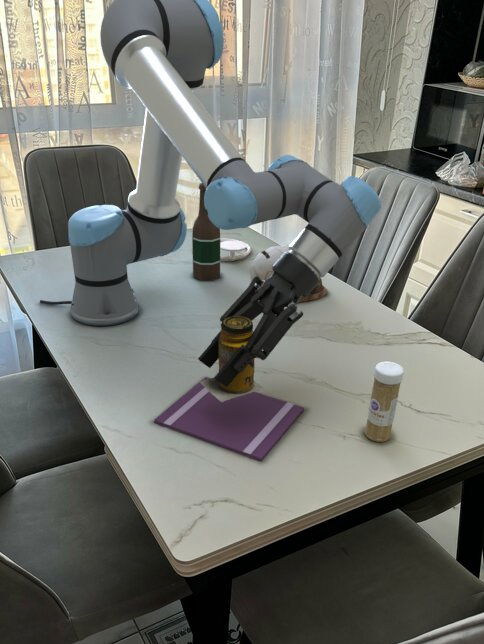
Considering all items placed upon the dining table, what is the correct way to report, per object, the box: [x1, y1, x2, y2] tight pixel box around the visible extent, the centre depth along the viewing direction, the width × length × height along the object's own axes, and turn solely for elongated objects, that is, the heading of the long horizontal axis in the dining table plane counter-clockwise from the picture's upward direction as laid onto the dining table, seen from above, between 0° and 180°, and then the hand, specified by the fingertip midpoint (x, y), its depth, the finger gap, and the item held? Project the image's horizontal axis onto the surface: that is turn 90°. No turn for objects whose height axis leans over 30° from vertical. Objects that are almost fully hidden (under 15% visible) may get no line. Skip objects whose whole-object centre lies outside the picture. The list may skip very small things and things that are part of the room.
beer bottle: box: [191, 182, 221, 282], centre depth 155 cm, size 8×8×24 cm
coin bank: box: [250, 243, 328, 303], centre depth 150 cm, size 16×17×13 cm
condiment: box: [199, 316, 264, 402], centre depth 100 cm, size 7×8×12 cm
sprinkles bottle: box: [364, 360, 405, 443], centre depth 100 cm, size 5×5×13 cm
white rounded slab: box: [220, 237, 252, 262], centre depth 176 cm, size 17×4×21 cm
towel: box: [153, 376, 305, 462], centre depth 107 cm, size 21×17×1 cm
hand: (212, 372), depth 100 cm, fingers closed on condiment, 6 cm apart
